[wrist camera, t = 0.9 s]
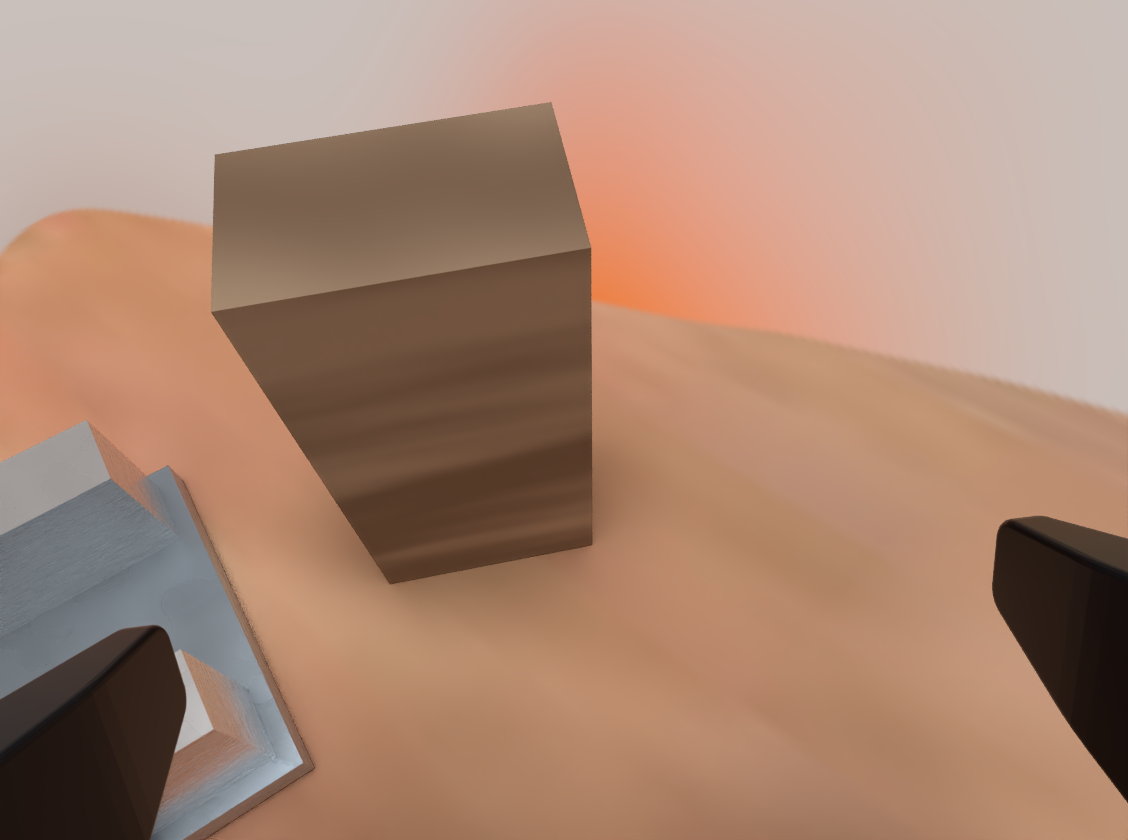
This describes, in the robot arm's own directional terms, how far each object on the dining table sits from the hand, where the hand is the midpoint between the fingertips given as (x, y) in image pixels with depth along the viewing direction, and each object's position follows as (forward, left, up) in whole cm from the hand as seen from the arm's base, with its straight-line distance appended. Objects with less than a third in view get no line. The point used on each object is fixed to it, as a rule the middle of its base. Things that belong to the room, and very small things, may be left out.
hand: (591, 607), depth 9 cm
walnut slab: (+5, +6, -14) cm, 17 cm away
